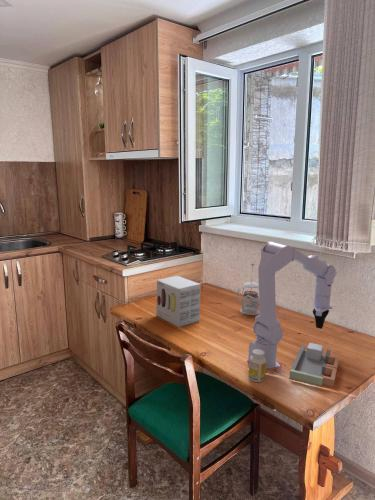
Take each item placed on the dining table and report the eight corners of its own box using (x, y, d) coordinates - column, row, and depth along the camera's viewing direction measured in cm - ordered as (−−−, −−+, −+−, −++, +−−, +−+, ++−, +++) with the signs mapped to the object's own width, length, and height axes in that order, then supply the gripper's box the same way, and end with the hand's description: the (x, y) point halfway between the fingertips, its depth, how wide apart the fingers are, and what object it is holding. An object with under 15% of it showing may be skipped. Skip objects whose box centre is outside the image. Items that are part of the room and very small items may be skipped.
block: (320, 361, 137) (321, 350, 137) (306, 357, 140) (307, 347, 139) (322, 355, 142) (323, 345, 141) (308, 352, 144) (309, 342, 143)
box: (301, 351, 146) (302, 344, 146) (339, 359, 140) (340, 352, 140) (289, 379, 126) (290, 370, 125) (333, 390, 120) (333, 381, 119)
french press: (261, 315, 183) (264, 265, 178) (237, 314, 183) (240, 264, 179) (258, 308, 193) (261, 260, 188) (235, 307, 193) (237, 260, 188)
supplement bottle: (250, 382, 123) (252, 355, 121) (246, 374, 128) (248, 348, 126) (266, 382, 123) (268, 355, 122) (262, 373, 129) (263, 347, 127)
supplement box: (155, 316, 179) (155, 279, 175) (176, 310, 187) (177, 275, 184) (178, 327, 166) (179, 288, 162) (200, 320, 174) (201, 283, 171)
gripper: (331, 301, 135) (328, 336, 137) (335, 290, 148) (332, 323, 150) (311, 298, 138) (308, 332, 141) (316, 288, 151) (313, 320, 153)
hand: (319, 327), depth 146 cm, fingers closed
